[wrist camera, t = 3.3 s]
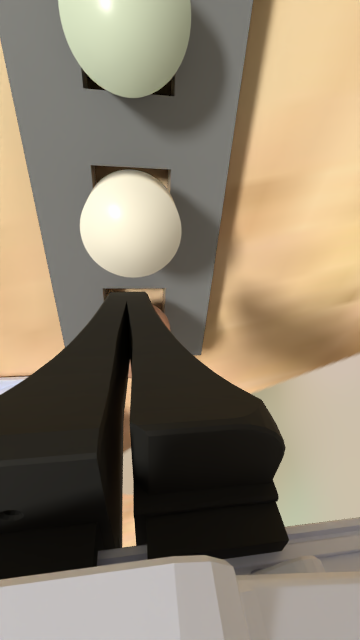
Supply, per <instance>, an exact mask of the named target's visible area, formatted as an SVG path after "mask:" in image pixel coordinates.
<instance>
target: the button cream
mask: <svg viewBox="0 0 360 640" xmlns="http://www.w3.org/2000/svg"><path fill="white" fill-rule="evenodd" d="M80 233H81V238H82V241H83V244H84V246H85V248H86V250H87V252H88V253H89V255H90V256H91V257H92V259H93V260H94V261H95V262H96V263H97V264H98V265H99V266H101V267H102V268H104V269H105V270H107V271H109V272H111V273H113V274H116V275H119V276H123V277H132V278H135V277H144V276H148V275H151V274H153V273H155V272H157V271H159V270H161V269H162V268H163V267H165V266H166V265H167V264H168V263H169V262H170V261H171V260H172V258H173V257H174V255H175V254H176V252H177V250H178V247H179V244H180V241H181V221H180V217H179V214H178V211H177V209H176V206H175V203H174V201H173V198H172V196H171V194H170V193H169V191H168V190H167V188H166V187H165V186H164V185H163V184H162V183H161V182H160V181H159V180H158V179H156V178H155V177H153V176H151V175H150V174H147V173H145V172H142V171H138V170H119V171H116V172H113V173H111V174H108V175H107V176H105V177H104V178H102V179H101V180H100V181H99V182H98V183H97V184H96V185H95V186H94V188H93V189H92V191H91V193H90V195H89V197H88V199H87V201H86V203H85V205H84V208H83V210H82V213H81V218H80Z"/></svg>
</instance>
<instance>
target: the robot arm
mask: <svg viewBox="0 0 360 640" xmlns="http://www.w3.org/2000/svg"><path fill="white" fill-rule="evenodd" d="M130 363H131V372H132V386H131V407H130V435H131V450H132V465H133V478H134V479H133V480H134V519H135V533H136V546H132V547H124V548H122V483H123V482H122V481H123V480H122V479H123V473H122V472H123V420H124V408H125V399H126V391H127V382H128V373H129V365H130ZM284 451H285V445H284V440H283V438H282V436H281V434H280V431H279V429H278V427H277V425H276V423H275V421H274V420H273V418H272V416H271V414H270V413H269V411H268V409H267V408H266V406H265V405H264V403H263V401H262V400H261V399H259V398H257V397H255V396H253V395H251V394H250V393H248V392H246V391H244V390H242V389H240V388H239V387H237V386H235V385H233V384H231V383H230V382H228V381H227V380H225V379H224V378H222V377H221V376H219V375H218V374H216V373H215V372H213V371H212V370H211V369H209V368H208V367H207V366H205V365H204V364H203V363H202V362H200V361H199V360H198V359H197V358H195V357H194V356H193V355H192V354H191V353H190V352H189V351H188V350H187V349H186V348H185V347H184V346H183V345H182V344H181V343H180V342H179V341H178V340H177V339H176V338H175V336H174V335H173V334H172V333H171V332H170V330H169V329H168V328H167V326H166V325H165V324H164V322H163V321H162V319H161V318H160V317H159V315H158V314H157V312H156V310H155V309H154V307H153V305H152V303H151V301H150V299H149V297H148V294H147V293H146V292H110V293H109V294H108V295H107V297H106V299H105V300H104V302H103V303H102V305H101V306H100V308H99V309H98V311H97V312H96V313H95V315H94V316H93V317H92V319H91V320H90V321H89V323H88V324H87V325H86V326H85V327H84V328H83V329H82V331H81V332H80V333H79V334H78V335H77V336H76V337H75V338H74V339H73V340H72V341H71V342H70V344H69V345H67V346H66V347H65V348H64V349H63V350H62V351H61V352H60V353H59V354H58V355H57V356H55V357H54V358H53V359H52V360H51V361H49V362H48V363H47V364H45V365H44V366H43V367H41V368H40V369H39V370H37V371H36V372H35V373H33V374H32V375H31V376H28V377H3V378H0V640H360V517H359V518H352V519H343V520H335V521H327V522H319V523H312V524H305V525H296V526H288V527H284V524H283V521H282V518H281V515H280V513H279V510H278V507H277V504H276V501H278V493H277V490H276V487H275V485H274V482H273V478H274V475H275V473H276V471H277V469H278V467H279V464H280V463H281V461H282V458H283V456H284Z"/></svg>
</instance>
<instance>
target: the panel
mask: <svg viewBox="0 0 360 640" xmlns="http://www.w3.org/2000/svg"><path fill="white" fill-rule="evenodd" d="M190 3H191V29H190V37H189V42H188V46H187V49H186V52H185V56H184V58H183V60H182V62H181V65H180V66H179V68H178V70H177V72H176V73H175V74H174V76H173V77H172V86H171V96H165V95H153V94H150V95H147V96H144V97H139V98H127V97H122V96H119V95H116V94H113V93H111V92H109V91H107V90H96V89H88V86H87V75H86V73H85V71H84V70H83V69H82V67H81V66H80V65H79V63H78V62H77V60H76V58H75V57H74V55H73V53H72V51H71V49H70V47H69V45H68V42H67V40H66V37H65V34H64V31H63V27H62V23H61V19H60V13H59V6H58V0H0V39H1V44H2V49H3V54H4V59H5V63H6V68H7V73H8V78H9V82H10V87H11V92H12V97H13V101H14V106H15V111H16V116H17V121H18V125H19V130H20V135H21V140H22V144H23V149H24V154H25V159H26V164H27V168H28V173H29V178H30V183H31V187H32V192H33V197H34V202H35V206H36V211H37V216H38V221H39V226H40V230H41V235H42V240H43V245H44V249H45V254H46V259H47V264H48V269H49V273H50V278H51V283H52V288H53V292H54V297H55V302H56V307H57V311H58V316H59V321H60V326H61V331H62V335H63V340H64V345H65V347H66V346H67V345H69V344H70V342H71V341H72V340H73V339H74V338H75V337H76V336H77V335H78V334H79V333H80V332H81V331H82V329H83V328H84V327H85V326H86V325H87V324H88V323H89V321H90V320H91V319H92V317H93V316H94V315H95V313H96V312H97V311H98V309H99V308H100V306H101V305H102V303H103V302H104V300H105V299H106V288H163V309H162V311H163V312H164V314H165V315H166V317H167V318H168V321H169V324H170V331H171V333H172V334H173V335H174V336H175V338H176V339H177V340H178V341H179V342H180V343H181V344H182V345H183V346H184V347H185V348H186V349H187V350H188V351H189V352H190V353H191V354H192V355H201V351H202V344H203V338H204V331H205V324H206V317H207V311H208V304H209V297H210V290H211V283H212V277H213V270H214V263H215V256H216V249H217V243H218V236H219V229H220V222H221V215H222V209H223V202H224V195H225V188H226V182H227V175H228V168H229V161H230V154H231V148H232V141H233V134H234V127H235V120H236V114H237V107H238V100H239V93H240V86H241V80H242V73H243V66H244V59H245V53H246V46H247V39H248V32H249V25H250V19H251V12H252V5H253V0H190ZM95 165H98V166H117V167H136V168H154V169H168V185H167V190H168V191H169V193H170V194H171V196H172V198H173V201H174V203H175V206H176V209H177V211H178V214H179V217H180V221H181V241H180V244H179V247H178V250H177V252H176V254H175V255H174V257H173V258H172V260H171V261H170V262H169V263H168V264H167V265H166V266H165V267H163V268H162V269H161V270H159V271H157V272H155V273H153V274H151V275H148V276H144V277H135V278H132V277H123V276H119V275H116V274H113V273H111V272H109V271H107V270H105V269H104V268H102V267H101V266H99V265H98V264H97V263H96V262H95V261H94V260H93V259H92V257H91V256H90V255H89V253H88V252H87V250H86V248H85V246H84V244H83V241H82V238H81V233H80V218H81V213H82V210H83V208H84V205H85V203H86V201H87V199H88V197H89V195H90V193H91V191H92V189H93V188H94V186H95V185H96V175H95Z"/></svg>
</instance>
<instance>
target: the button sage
mask: <svg viewBox="0 0 360 640" xmlns="http://www.w3.org/2000/svg"><path fill="white" fill-rule="evenodd" d="M58 6H59V13H60V19H61V23H62V27H63V31H64V34H65V37H66V40H67V42H68V45H69V47H70V49H71V51H72V53H73V55H74V57H75V58H76V60H77V62H78V63H79V65H80V66H81V67H82V69H83V70H84V71H85V73H86V74H87V75H88V76H89V77H90V78H91V79H92V80H93V81H94V82H96V83H97V84H98V85H99V86H101V87H102V88H104V89H105V90H107V91H109V92H111V93H113V94H116V95H119V96H122V97H127V98H139V97H144V96H147V95H150V94H152V93H154V92H156V91H158V90H159V89H161V88H162V87H163V86H165V85H166V84H167V83H168V82H169V81H170V80H171V78H172V77H173V76H174V74H175V73H176V72H177V70H178V68H179V66H180V65H181V62H182V60H183V58H184V56H185V52H186V49H187V46H188V42H189V37H190V29H191V3H190V0H58Z"/></svg>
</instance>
